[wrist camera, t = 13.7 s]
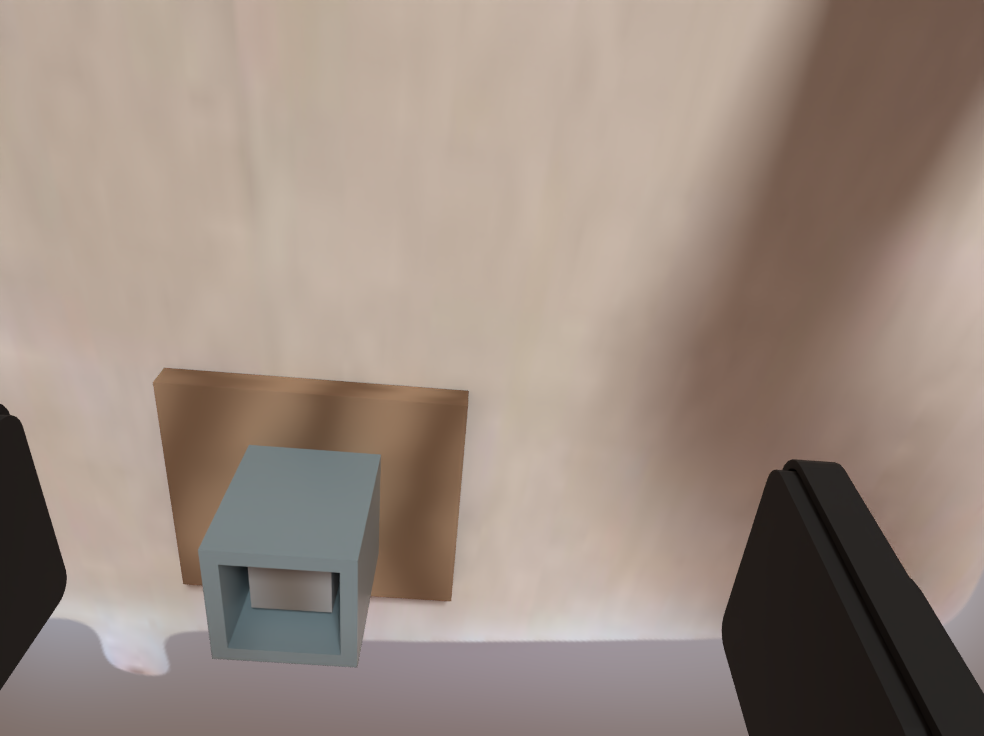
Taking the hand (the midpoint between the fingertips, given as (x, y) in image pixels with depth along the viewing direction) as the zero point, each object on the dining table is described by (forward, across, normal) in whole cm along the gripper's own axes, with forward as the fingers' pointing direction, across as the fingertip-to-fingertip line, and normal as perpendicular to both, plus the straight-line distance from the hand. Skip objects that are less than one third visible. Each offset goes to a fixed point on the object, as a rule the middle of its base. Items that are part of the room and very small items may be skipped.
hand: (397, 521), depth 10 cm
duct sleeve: (+25, +8, +22) cm, 34 cm away
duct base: (+26, +8, +22) cm, 35 cm away
